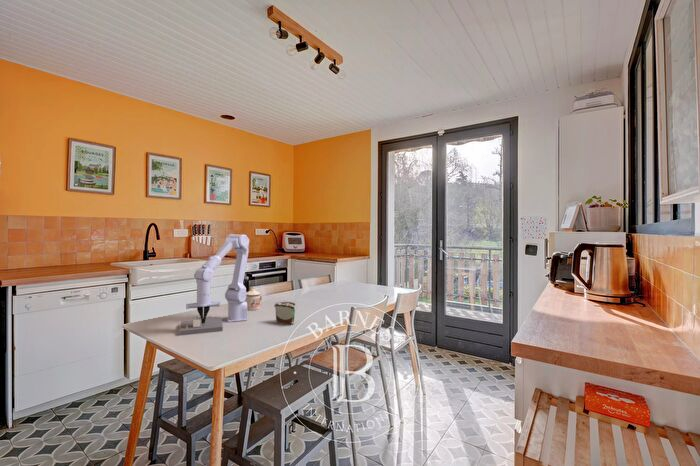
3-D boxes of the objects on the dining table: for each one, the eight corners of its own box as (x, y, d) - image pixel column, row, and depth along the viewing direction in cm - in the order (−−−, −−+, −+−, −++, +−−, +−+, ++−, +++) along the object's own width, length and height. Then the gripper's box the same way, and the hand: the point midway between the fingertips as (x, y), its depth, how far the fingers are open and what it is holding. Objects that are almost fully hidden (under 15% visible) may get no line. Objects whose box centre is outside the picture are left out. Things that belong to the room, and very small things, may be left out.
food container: (301, 322, 169) (301, 303, 169) (294, 326, 164) (294, 305, 163) (281, 319, 174) (281, 300, 174) (273, 322, 169) (274, 302, 168)
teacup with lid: (252, 311, 188) (252, 291, 187) (240, 309, 192) (240, 289, 192) (267, 307, 198) (267, 287, 198) (256, 304, 203) (256, 285, 202)
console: (221, 321, 168) (221, 317, 168) (222, 331, 154) (222, 326, 154) (181, 324, 161) (181, 320, 161) (178, 335, 147) (178, 330, 147)
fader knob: (200, 323, 157) (200, 316, 156) (200, 326, 152) (200, 318, 152) (193, 324, 155) (193, 316, 155) (193, 327, 151) (193, 319, 151)
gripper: (185, 296, 148) (185, 326, 148) (220, 294, 154) (220, 323, 154) (186, 293, 154) (186, 322, 155) (220, 291, 160) (219, 319, 161)
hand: (203, 322), depth 155 cm, fingers closed
